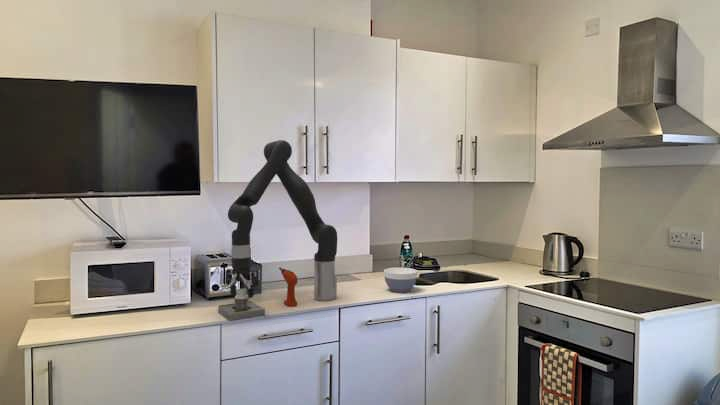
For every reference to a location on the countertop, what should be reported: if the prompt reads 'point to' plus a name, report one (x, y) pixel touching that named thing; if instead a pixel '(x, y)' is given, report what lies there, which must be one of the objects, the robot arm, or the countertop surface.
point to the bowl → (400, 279)
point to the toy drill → (290, 287)
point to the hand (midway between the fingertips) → (242, 296)
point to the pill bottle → (241, 300)
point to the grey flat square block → (240, 311)
